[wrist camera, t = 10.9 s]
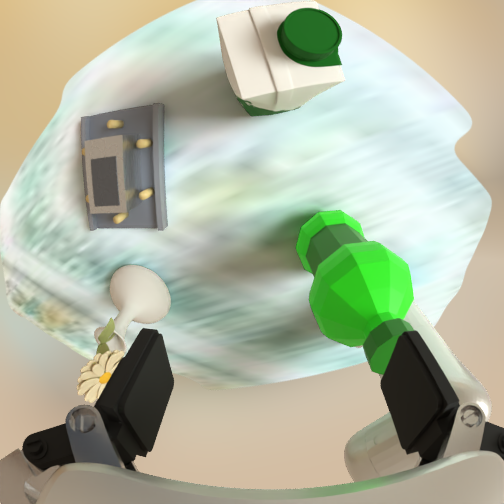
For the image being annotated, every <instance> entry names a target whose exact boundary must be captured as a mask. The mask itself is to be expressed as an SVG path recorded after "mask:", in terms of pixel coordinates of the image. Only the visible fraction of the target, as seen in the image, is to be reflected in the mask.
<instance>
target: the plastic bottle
mask: <svg viewBox="0 0 504 504" xmlns="http://www.w3.org/2000/svg"><path fill="white" fill-rule="evenodd" d="M296 250H297V253H298V255H299V257H300V260H301V262H302V264H303V267H304V269H305V270H306V271H308V272H310V273H312V274H313V275H314V281H313V284H312V287H311V290H310V293H309V303H310V306H311V309H312V311H313V314H314V316H315V318H316V321H317V323H318V325H319V328H320V330H321V332H322V333H323V334H324V335H325V336H326V337H327V338H329V339H332V340H334V341H337V342H339V343H342V344H344V345H347V346H349V347H355V346H361V345H363V348H364V352H365V355H366V358H367V360H368V363H369V365H370V368H371V370H372V371H373V372H375V373H378V374H382V375H384V372H385V370H386V368H387V365H388V363H389V360H390V358H391V355H392V353H393V350H394V348H395V345H396V342H397V340H398V337H399V336H401V335H402V333H403V332H405V331H414V329H413V327H412V326H411V325H410V323H408V322H406V321H405V320H404V318H405V316H406V314H407V312H408V310H409V308H410V306H411V304H412V302H413V300H414V297H413V289H412V282H411V275H410V271H409V267H408V264H407V263H406V262H405V261H404V260H403V259H401V258H400V257H399V256H397V255H396V254H394V253H393V252H391V251H390V250H389V249H387V248H386V247H384V246H383V245H381V244H380V243H378V242H375V241H369V242H368V241H367V240H366V239H365V238H364V235H363V231H362V228H361V225H360V223H359V222H358V221H356V220H355V219H353V218H352V217H350V216H349V215H347V214H345V213H344V212H342V211H341V210H336V211H325V212H318V213H317V214H316V215H314V216H313V217H312V218H311V219H310V220H309V221H307V222H306V223H305V224H304V225H303V226H302V227H301V229H300V233H299V237H298V241H297V244H296Z"/></svg>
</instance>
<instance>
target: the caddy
mask: <svg viewBox="0 0 504 504" xmlns="http://www.w3.org/2000/svg"><path fill="white" fill-rule="evenodd" d="M133 134H140V139H139V140H138V141H137V143H136V145H137V147H138V148H140V161H141V182H142V192H140V193H139V198H140V199H141V200H143V203H141V204H140V205H138V206H136V207H135V208H133V209H132V210H130V211H129V212H127V213H97V214H90V206H89V198H88V189H87V178H86V163H85V141H88V140H93V139H99V138H105V137H111V136H117V135H133ZM81 141H82V163H83V177H84V188H85V197H86V205H87V213H88V220H89V226H90V231H93V230H96V229H97V228H158V230H164V229H165V228H166V227H167V226H168V223H167V210H166V193H165V172H164V105H163V104H160V103H154V104H153V105H149V106H142V107H136V108H129V109H124V110H118V111H113V112H108V113H103V114H99V115H94V116H90V117H89V116H85V117H81Z"/></svg>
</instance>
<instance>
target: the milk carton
mask: <svg viewBox="0 0 504 504" xmlns="http://www.w3.org/2000/svg"><path fill="white" fill-rule="evenodd" d="M216 19H217V24H218V31H219V38H220V45H221V52H222V58H223V62H224V65H225V70H226V74H227V77H228V80H229V82H230V84H231V87H232V89H233V91H234V93H235V95H236V97H237V99H238V101H239V102H240V103H241V105H242V106H243V107H244V108H245V109H246V111H247V112H248V113H249V114H250V116H262V115H272V114H277V113H282V112H286V111H290V110H295V109H298V108H300V107H301V106H302V105H304V104H305V103H307V102H308V101H309V100H311V99H312V98H313V97H315V96H316V95H318V94H320V93H322V92H324V91H326V90H327V89H329V88H331V87H333V86H335V85H337V84H339V83H341V82H343V81H345V78H344V74H343V72H342V69H341V66H340V65H342V64H341V61H340V58H339V55H338V46H339V44H340V43H341V40H342V31H341V28H340V26H339V24H338V22H337V21H336V20H335V19H334V18H333V17H332V16H331V15H329V14H328V13H326V12H324V11H322V10H319V7H318V5H317V3H316V1H302V2H291V3H282V4H274V5H267V6H258V7H253V8H249V10H246V11H241V12H237V13H232V14H228V15H224V16H221V17H217V18H216Z"/></svg>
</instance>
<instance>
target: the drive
mask: <svg viewBox="0 0 504 504" xmlns="http://www.w3.org/2000/svg"><path fill="white" fill-rule="evenodd" d="M139 139H140V134H133V135H117V136H111V137H105V138H99V139H93V140H88V141H85V163H86V178H87V189H88V198H89V206H90V214H97V213H127V212H129V211H130V210H132V209H133V208H135V207H136V206H138V205H140V204H141V203H143V200H141V199H140V198H139V193H140V192H142V182H141V161H140V148H138V147H137V145H136V143H137V141H138V140H139Z"/></svg>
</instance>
